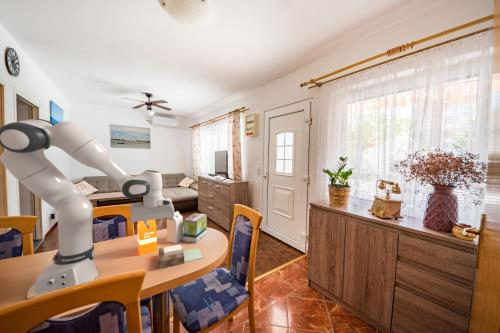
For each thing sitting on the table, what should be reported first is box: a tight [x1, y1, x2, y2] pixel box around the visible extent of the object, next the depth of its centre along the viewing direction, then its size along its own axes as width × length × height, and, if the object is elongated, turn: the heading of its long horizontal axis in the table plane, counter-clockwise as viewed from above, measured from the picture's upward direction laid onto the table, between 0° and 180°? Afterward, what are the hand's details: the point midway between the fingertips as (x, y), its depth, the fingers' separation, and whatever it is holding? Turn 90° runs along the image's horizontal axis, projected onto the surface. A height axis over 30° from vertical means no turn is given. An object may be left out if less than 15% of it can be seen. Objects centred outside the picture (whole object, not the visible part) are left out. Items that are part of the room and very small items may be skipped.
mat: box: [183, 247, 204, 263], centre depth 108 cm, size 10×12×1 cm
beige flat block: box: [163, 243, 183, 256], centre depth 103 cm, size 9×6×2 cm, turn 116°
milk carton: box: [166, 210, 184, 244], centre depth 125 cm, size 7×7×19 cm
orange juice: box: [136, 220, 158, 256], centre depth 112 cm, size 8×9×20 cm
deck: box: [158, 247, 185, 270], centre depth 103 cm, size 12×14×4 cm
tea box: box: [182, 212, 208, 244], centre depth 130 cm, size 15×10×15 cm, turn 168°
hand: (153, 227), depth 99 cm, fingers open, 4 cm apart
